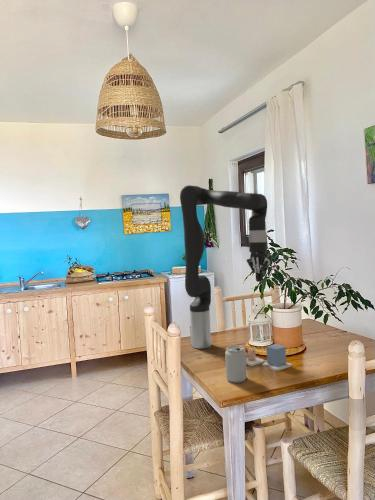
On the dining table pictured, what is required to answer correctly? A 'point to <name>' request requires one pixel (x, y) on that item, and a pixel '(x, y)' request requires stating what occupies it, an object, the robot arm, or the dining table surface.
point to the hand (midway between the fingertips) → (259, 281)
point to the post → (277, 367)
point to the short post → (252, 358)
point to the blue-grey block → (276, 355)
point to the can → (235, 364)
